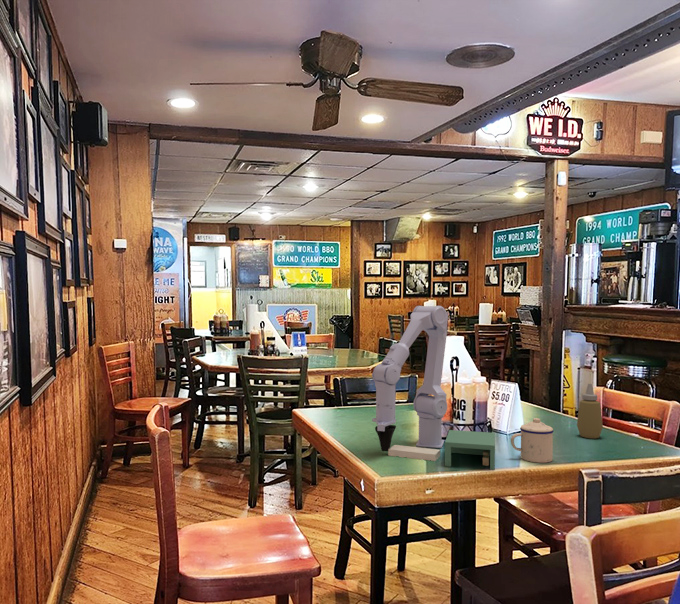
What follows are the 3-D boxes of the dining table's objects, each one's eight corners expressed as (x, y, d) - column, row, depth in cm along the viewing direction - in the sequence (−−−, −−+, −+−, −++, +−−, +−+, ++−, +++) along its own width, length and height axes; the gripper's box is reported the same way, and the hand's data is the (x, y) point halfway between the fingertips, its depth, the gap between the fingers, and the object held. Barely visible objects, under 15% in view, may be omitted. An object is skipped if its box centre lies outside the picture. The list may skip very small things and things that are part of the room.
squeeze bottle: (571, 435, 189) (571, 383, 189) (587, 433, 193) (587, 381, 193) (591, 440, 182) (592, 386, 182) (608, 438, 185) (608, 384, 186)
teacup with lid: (546, 454, 164) (546, 415, 164) (558, 463, 155) (558, 421, 155) (505, 454, 164) (506, 415, 164) (516, 463, 154) (516, 421, 155)
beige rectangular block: (394, 451, 167) (394, 444, 167) (440, 456, 162) (440, 449, 162) (388, 456, 162) (388, 449, 162) (435, 461, 156) (435, 454, 156)
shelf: (449, 451, 167) (449, 429, 167) (494, 454, 163) (494, 432, 163) (444, 465, 151) (445, 442, 151) (494, 469, 148) (494, 445, 148)
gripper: (377, 400, 172) (377, 443, 171) (367, 408, 158) (366, 455, 157) (400, 401, 170) (399, 445, 170) (391, 409, 156) (391, 457, 156)
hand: (385, 450), depth 163 cm, fingers closed
